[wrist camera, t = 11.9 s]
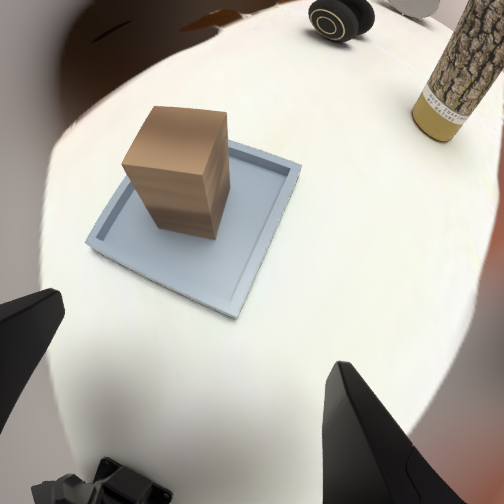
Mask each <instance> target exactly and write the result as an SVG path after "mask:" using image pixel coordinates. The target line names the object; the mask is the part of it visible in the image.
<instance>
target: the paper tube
mask: <svg viewBox="0 0 504 504" xmlns="http://www.w3.org/2000/svg"><path fill="white" fill-rule="evenodd" d="M503 68H504V0H469V1H468V4H467V5H466V8H465V10H464V12H463V14H462V16H461V18H460V20H459V22H458V25H457V27H456V29H455V31H454V33H453V35H452V37H451V39H450V41H449V43H448V45H447V46H446V48H445V50H444V52H443V54H442V56H441V58H440V60H439V62H438V64H437V65H436V67H435V69H434V71H433V73H432V75H431V77H430V78H429V80H428V82H427V84H426V86H425V87H424V89H423V91H422V93H421V95H420V97H419V98H418V100H417V102H416V103H415V105H414V107H413V117H414V119H415V121H416V123H417V124H418V125H419V127H420V128H421V129H422V130H423V131H424V132H425V133H427V134H428V135H429V136H431V137H432V138H434V139H436V140H439V141H449V140H451V139H452V138H453V137H454V135H455V134H456V133H457V132H458V130H459V129H460V128H461V126H462V125H463V124H464V123H465V122H466V120H467V119H468V118H469V116H470V115H471V114H472V112H473V111H474V110H475V108H476V107H477V105H478V104H479V103H480V101H481V100H482V99H483V97H484V96H485V94H486V93H487V92H488V90H489V89H490V87H491V86H492V84H493V83H494V81H495V80H496V78H497V77H498V76H499V74H500V73H501V71H502V69H503Z"/></svg>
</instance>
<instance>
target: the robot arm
mask: <svg viewBox="0 0 504 504" xmlns="http://www.w3.org/2000/svg"><path fill="white" fill-rule="evenodd" d="M64 315H65V308H64V304H63V299H62V295H61V293H60V291H58V290H55V289H53V288H48V289H45V290H42V291H39V292H36V293H33V294H30V295H27V296H24V297H21V298H18V299H15V300H12V301H9V302H6V303H3V304H0V434H1V432H2V430H3V427H4V425H5V423H6V421H7V419H8V417H9V415H10V413H11V411H12V409H13V407H14V406H15V404H16V402H17V400H18V398H19V396H20V394H21V393H22V391H23V389H24V387H25V385H26V384H27V382H28V380H29V379H30V377H31V375H32V373H33V372H34V370H35V368H36V367H37V365H38V363H39V362H40V360H41V358H42V357H43V355H44V354H45V352H46V350H47V348H48V346H49V345H50V343H51V341H52V339H53V337H54V335H55V333H56V331H57V329H58V327H59V325H60V323H61V322H62V320H63V318H64ZM412 445H413V443H412V442H411V441H410V439H409V438H408V437H407V435H406V434H405V433H404V431H403V430H402V429H401V428H400V426H399V425H398V424H397V422H396V421H395V420H394V418H393V417H392V416H391V414H390V413H389V412H388V411H387V409H386V408H385V407H384V405H383V404H382V403H381V401H380V400H379V399H378V398H377V396H376V395H375V394H374V392H373V391H372V390H371V388H370V387H369V386H368V385H367V383H366V382H365V381H364V379H363V378H362V377H361V375H360V374H359V373H358V372H357V370H356V369H355V368H354V366H353V365H352V364H351V363H350V362H345V361H337V362H336V363H335V364H334V366H333V368H332V370H331V372H330V374H329V376H328V378H327V380H326V385H325V399H324V411H323V423H322V447H323V504H467V503H465V502H464V501H463V500H462V499H461V498H460V497H459V496H458V495H457V494H456V493H455V492H454V491H453V490H452V489H451V488H450V487H449V486H448V485H447V484H446V482H444V480H442V478H441V477H440V476H439V475H438V474H437V473H436V472H435V471H434V469H432V467H431V466H430V465H429V464H428V463H427V461H426V460H425V459H424V457H423V456H422V455H421V454H420V452H419V451H418V450H417V448H416V447H415V446H414V445H413V446H412ZM105 461H107V462H108V464H106V463H105ZM31 491H32V495H33V498H34V502H35V504H169V503H170V501H171V499H172V497H173V493H172V492H171V491H169V490H167V489H165V488H163V487H161V486H159V485H157V484H155V483H153V482H151V480H149V479H147V478H145V477H143V476H141V475H139V474H137V473H135V472H134V471H132V470H130V469H128V468H127V467H125V466H124V467H123V466H121V465H120V464H118V463H116V462H115V461H113V460H111V459H110V458H108V457H104V458H102V459H101V461H100V464H99V467H98V469H97V472H96V475H95V478H94V481H93V484H89V483H85V481H82V480H81V479H80V478H79V477H77V476H76V475H75V474H66V475H64V476H63V477H61V478H59V479H58V480H57V481H44V482H42V484H39V485H35V486H32V487H31ZM164 494H168V495H169V496H165V495H164Z"/></svg>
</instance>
